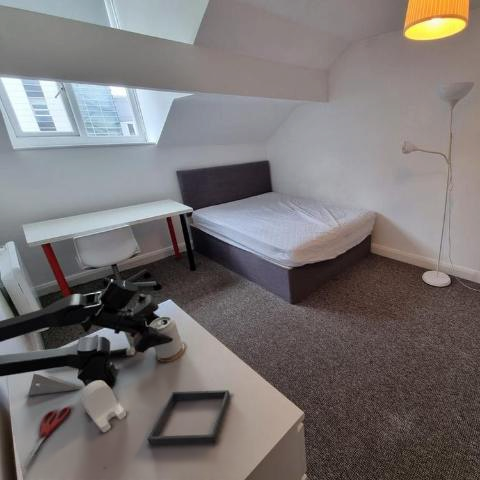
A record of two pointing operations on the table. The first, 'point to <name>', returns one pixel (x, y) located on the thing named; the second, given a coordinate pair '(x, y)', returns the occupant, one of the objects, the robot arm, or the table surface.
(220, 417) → the dark grey rectangular frame
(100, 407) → the white phone stand
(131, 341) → the small box
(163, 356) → the can
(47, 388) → the grey triangular spike
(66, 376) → the table surface
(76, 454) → the table surface
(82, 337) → the robot arm
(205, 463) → the table surface
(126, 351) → the knife
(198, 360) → the table surface
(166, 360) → the cork coaster
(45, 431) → the scissors
